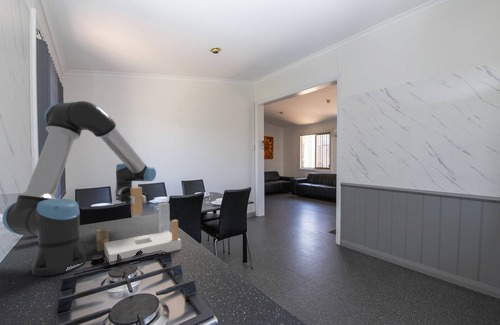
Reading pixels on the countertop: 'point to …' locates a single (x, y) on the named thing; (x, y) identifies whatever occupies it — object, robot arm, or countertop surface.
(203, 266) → the countertop surface
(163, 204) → the pin long
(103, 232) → the pin short
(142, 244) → the hole block
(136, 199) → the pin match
